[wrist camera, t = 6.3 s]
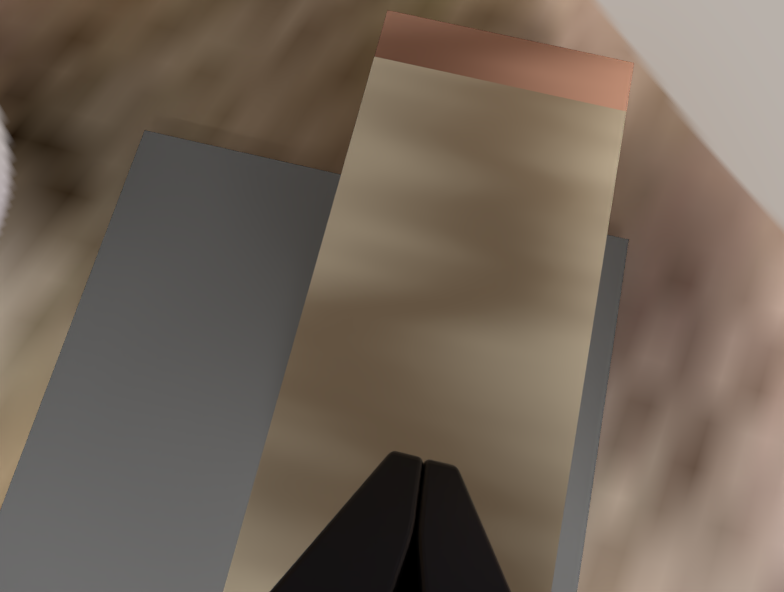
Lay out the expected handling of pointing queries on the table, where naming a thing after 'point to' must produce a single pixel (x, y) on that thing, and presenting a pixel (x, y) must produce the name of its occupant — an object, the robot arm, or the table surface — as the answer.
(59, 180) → the table surface
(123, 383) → the rubber mat
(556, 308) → the tan long rectangular block
